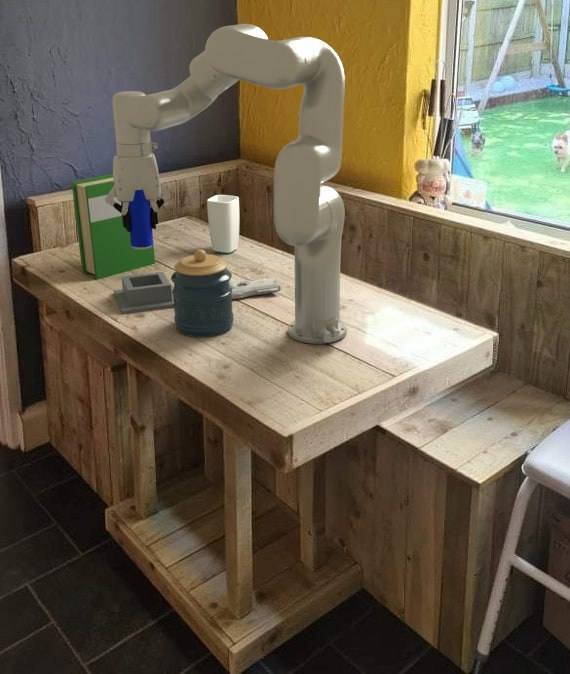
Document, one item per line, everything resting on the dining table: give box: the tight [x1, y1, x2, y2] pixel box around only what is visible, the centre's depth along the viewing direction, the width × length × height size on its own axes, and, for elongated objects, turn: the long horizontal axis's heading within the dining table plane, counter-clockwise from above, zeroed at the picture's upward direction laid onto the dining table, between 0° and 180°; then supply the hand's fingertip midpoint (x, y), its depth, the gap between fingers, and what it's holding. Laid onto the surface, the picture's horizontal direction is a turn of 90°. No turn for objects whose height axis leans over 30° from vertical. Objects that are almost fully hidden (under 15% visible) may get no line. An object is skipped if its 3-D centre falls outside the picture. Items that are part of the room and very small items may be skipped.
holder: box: [113, 271, 174, 315], centre depth 197 cm, size 14×14×5 cm
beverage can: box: [128, 188, 154, 250], centre depth 190 cm, size 5×5×15 cm
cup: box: [206, 194, 240, 254], centre depth 229 cm, size 7×7×15 cm
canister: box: [170, 248, 234, 338], centre depth 179 cm, size 13×13×18 cm
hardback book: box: [71, 173, 156, 281], centre depth 215 cm, size 18×7×24 cm, turn 132°
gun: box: [229, 277, 282, 300], centre depth 201 cm, size 18×4×10 cm
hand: (140, 228), depth 191 cm, fingers closed on beverage can, 5 cm apart
